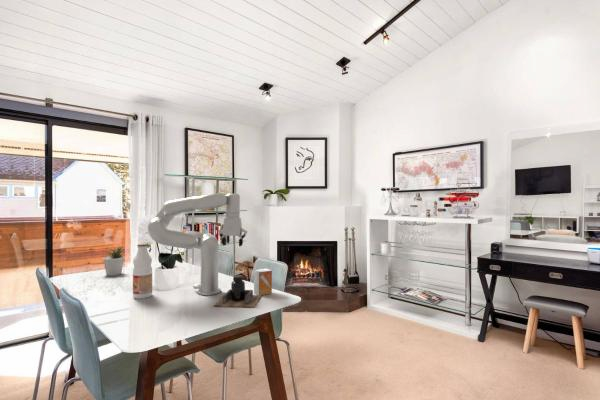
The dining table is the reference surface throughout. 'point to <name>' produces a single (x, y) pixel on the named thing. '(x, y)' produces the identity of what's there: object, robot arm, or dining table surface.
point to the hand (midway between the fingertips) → (232, 245)
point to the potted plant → (114, 262)
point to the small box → (263, 281)
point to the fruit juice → (142, 273)
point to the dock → (248, 302)
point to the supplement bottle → (238, 288)
